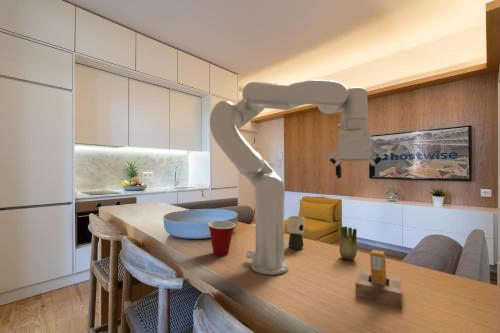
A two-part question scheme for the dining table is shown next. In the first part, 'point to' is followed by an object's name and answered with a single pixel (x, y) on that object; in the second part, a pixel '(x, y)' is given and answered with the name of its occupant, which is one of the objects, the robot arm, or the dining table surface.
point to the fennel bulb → (348, 243)
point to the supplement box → (378, 267)
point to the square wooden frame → (379, 289)
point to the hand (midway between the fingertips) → (354, 178)
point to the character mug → (296, 231)
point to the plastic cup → (221, 236)
